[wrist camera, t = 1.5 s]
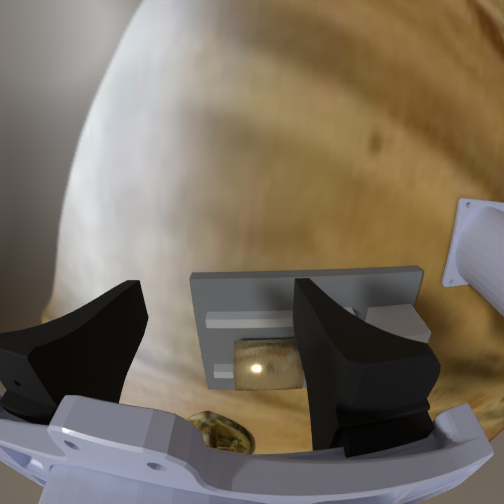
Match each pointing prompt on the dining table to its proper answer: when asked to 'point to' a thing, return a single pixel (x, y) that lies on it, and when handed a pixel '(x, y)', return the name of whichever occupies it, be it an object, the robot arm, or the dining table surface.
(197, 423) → the seal
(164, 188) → the dining table surface
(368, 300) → the valve board
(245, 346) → the brass fitting
